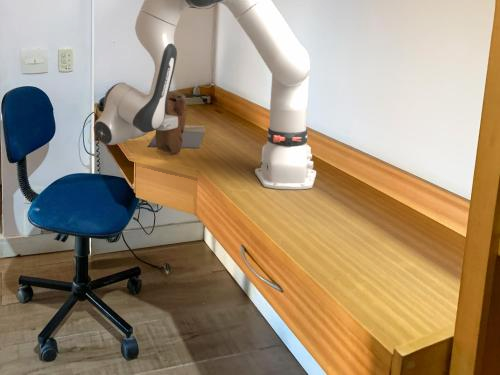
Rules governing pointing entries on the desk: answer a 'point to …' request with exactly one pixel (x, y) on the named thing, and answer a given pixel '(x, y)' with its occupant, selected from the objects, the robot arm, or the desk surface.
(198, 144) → the mat
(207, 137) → the desk surface
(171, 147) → the block
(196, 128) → the stop strip
